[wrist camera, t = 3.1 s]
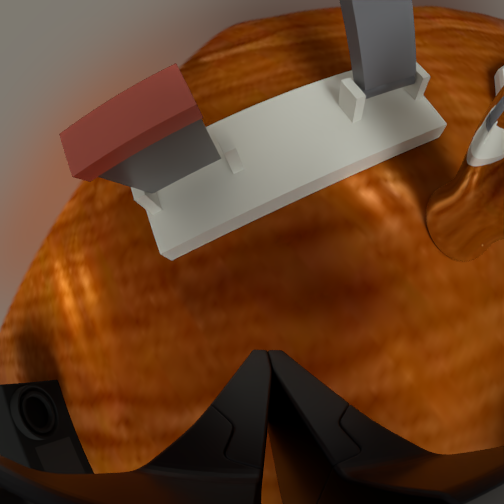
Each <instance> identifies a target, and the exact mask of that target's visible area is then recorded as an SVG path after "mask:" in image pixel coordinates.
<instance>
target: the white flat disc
mask: <svg viewBox="0 0 504 504" xmlns="http://www.w3.org/2000/svg"><path fill="white" fill-rule="evenodd" d="M494 80H495V91H496V95H497V94H498V93H499V91H500V90H501V88H502V87H503V86H504V66H502V67H501V68H500V69H498V71H497V72H496V74H495V76H494Z"/></svg>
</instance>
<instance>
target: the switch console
mask: <svg viewBox="0 0 504 504" xmlns="http://www.w3.org/2000/svg"><path fill="white" fill-rule="evenodd" d="M429 79H430V75H429V74H428V73H427V72H426V71H425V70H424V69H423V68H422V67H421V66H420V65H419V64H418V63H417V62H416V75H415V83H414V84H412V85H408V86H405V87H402V88H399V89H395V90H392V91H389V92H386V93H383V94H380V95H377V96H374V97H371V98H368V99H366V95H365V94H364V93H363V92H362V90H361V89H360V88H359V87H358V86H357V85H356V84H355V82H354V79H353V72H352V70H351V71H347V72H344V73H341V74H338V75H335V76H332V77H329V78H326V79H323V80H320V81H317V82H314V83H311V84H308V85H305V86H303V87H300V88H297V89H294V90H292V91H289V92H286V93H284V94H281V95H279V96H276V97H274V98H271V99H269V100H266V101H264V102H261V103H259V104H256V105H254V106H252V107H249V108H247V109H245V110H242V111H240V112H238V113H235V114H233V115H231V116H229V117H227V118H224V119H222V120H220V121H218V122H216V123H214V124H212V125H209V126H207V127H206V129H207V131H208V133H209V135H210V137H211V139H212V141H213V143H214V145H215V147H216V149H217V151H218V153H219V155H220V157H221V159H220V160H217V161H215V162H213V163H211V164H209V165H207V166H205V167H203V168H201V169H199V170H197V171H195V172H193V173H191V174H189V175H187V176H185V177H184V178H182V179H180V180H178V181H176V182H174V183H172V184H170V185H168V186H166V187H165V188H163V189H161V190H159V191H157V192H155V193H149V192H145V191H142V190H139V189H136V188H133V187H131V190H132V193H133V197H134V200H135V201H136V202H137V203H138V204H140V205H141V206H142V207H143V208H145V209H146V212H147V215H148V218H149V221H150V224H151V228H152V231H153V234H154V237H155V240H156V243H157V246H158V249H159V252H160V254H161V255H163V256H164V257H166V258H168V259H170V260H174V259H176V258H178V257H180V256H182V255H184V254H186V253H188V252H190V251H192V250H194V249H196V248H198V247H200V246H202V245H204V244H206V243H208V242H210V241H213V240H215V239H217V238H219V237H221V236H223V235H225V234H227V233H229V232H231V231H233V230H235V229H237V228H239V227H241V226H244V225H246V224H248V223H250V222H252V221H254V220H256V219H258V218H260V217H262V216H265V215H267V214H269V213H271V212H273V211H275V210H277V209H279V208H282V207H284V206H286V205H288V204H290V203H292V202H294V201H297V200H299V199H301V198H303V197H305V196H307V195H310V194H312V193H314V192H316V191H318V190H320V189H323V188H325V187H327V186H329V185H331V184H334V183H336V182H338V181H340V180H342V179H345V178H347V177H349V176H351V175H354V174H356V173H358V172H360V171H363V170H365V169H367V168H369V167H372V166H374V165H376V164H378V163H381V162H383V161H385V160H387V159H390V158H392V157H394V156H397V155H399V154H401V153H404V152H406V151H408V150H411V149H413V148H415V147H418V146H420V145H422V144H425V143H427V142H429V141H432V140H434V139H436V138H439V137H440V135H441V134H442V132H443V130H444V128H445V127H446V125H447V124H446V122H445V121H444V120H443V118H442V117H441V116H440V115H439V113H438V112H437V111H436V110H435V109H434V107H433V106H432V105H431V104H430V103H429V101H428V100H427V99H426V98H425V97H424V96H423V94H424V91H425V89H426V86H427V84H428V81H429Z"/></svg>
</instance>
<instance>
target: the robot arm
mask: <svg viewBox="0 0 504 504" xmlns="http://www.w3.org/2000/svg"><path fill="white" fill-rule="evenodd" d="M267 428H268V432H269V438H270V443H271V448H272V453H273V458H274V463H275V468H276V473H277V478H278V483H279V488H280V493H281V498H282V503H283V504H504V446H501V447H496V448H491V449H485V450H480V451H474V452H467V453H460V454H452V455H442V454H436V453H432V452H429V451H427V450H425V449H422V448H421V447H419V446H417V445H415V444H413V443H411V442H409V441H407V440H406V439H404V438H402V437H400V436H398V435H397V434H395V433H393V432H391V431H389V430H388V429H386V428H384V427H383V426H381V425H379V424H378V423H376V422H374V421H373V420H371V419H370V418H369V417H367V416H366V415H364V414H363V413H361V412H360V411H359V410H357V409H356V408H355V407H353V406H352V405H349V403H348V402H346V401H345V400H344V399H343V398H341V397H340V396H339V395H337V394H336V393H335V392H333V391H332V390H331V389H330V388H328V387H327V386H326V385H324V384H323V383H322V382H321V381H319V380H318V379H317V378H316V377H314V376H313V375H312V374H310V373H309V372H308V371H307V370H305V369H304V368H303V367H302V366H300V365H299V364H298V363H297V362H296V361H294V360H293V359H292V358H291V357H289V356H288V355H287V354H286V353H284V352H283V351H281V350H269V351H268V352H267V351H266V350H253V351H252V352H251V353H250V355H249V356H248V357H247V359H246V360H245V361H244V363H243V364H242V365H241V366H240V368H239V369H238V370H237V372H236V373H235V374H234V376H233V377H232V378H231V379H230V381H229V382H228V383H227V385H226V386H225V387H224V388H223V390H222V391H221V392H220V394H219V395H218V396H217V397H216V399H215V400H214V401H213V402H212V404H211V405H210V406H209V407H208V408H207V410H206V411H205V412H204V413H203V415H202V416H201V417H200V418H199V419H198V420H197V421H196V422H195V424H194V425H193V426H191V427H190V428H189V429H188V430H187V431H186V432H185V433H184V434H183V435H182V436H180V437H179V438H178V439H177V440H176V441H175V442H173V443H172V444H171V445H170V446H169V447H167V448H166V449H165V450H164V451H162V452H161V453H160V454H159V455H158V456H156V457H155V458H154V459H153V460H151V461H150V462H149V463H147V464H146V465H144V466H142V467H141V468H139V469H136V470H134V471H130V472H122V473H105V474H58V473H49V472H43V471H38V470H35V469H31V468H28V467H26V466H23V465H21V464H19V463H16V462H14V461H12V460H10V459H8V458H5V457H3V456H0V504H261V489H262V478H263V468H264V459H265V449H266V439H267Z"/></svg>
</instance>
